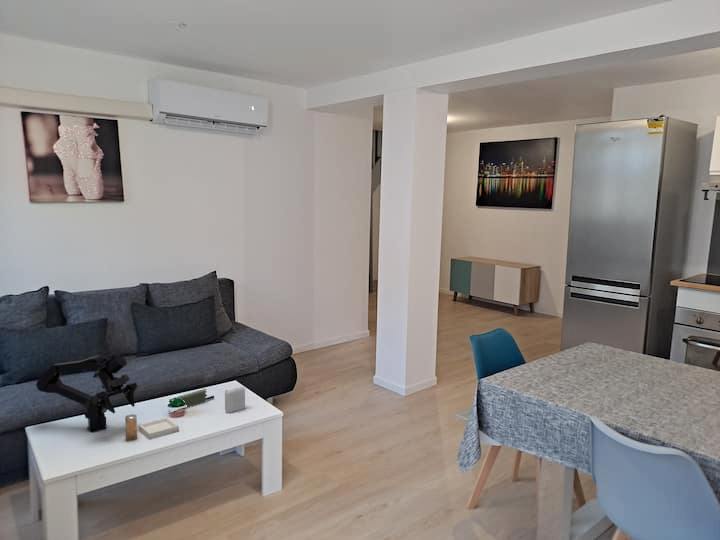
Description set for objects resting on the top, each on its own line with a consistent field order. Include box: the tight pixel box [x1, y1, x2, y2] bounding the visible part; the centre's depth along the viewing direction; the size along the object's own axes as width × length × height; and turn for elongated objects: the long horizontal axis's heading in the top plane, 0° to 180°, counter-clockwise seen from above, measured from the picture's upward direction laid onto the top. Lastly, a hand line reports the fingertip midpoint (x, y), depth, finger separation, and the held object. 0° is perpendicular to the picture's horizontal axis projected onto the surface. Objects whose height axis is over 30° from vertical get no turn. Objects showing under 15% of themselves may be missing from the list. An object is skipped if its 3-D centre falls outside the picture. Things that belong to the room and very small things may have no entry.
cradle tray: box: [137, 417, 180, 440], centre depth 236 cm, size 13×13×2 cm
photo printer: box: [224, 384, 246, 414], centre depth 260 cm, size 10×4×12 cm, turn 134°
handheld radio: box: [169, 388, 215, 408], centre depth 267 cm, size 7×3×25 cm
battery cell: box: [124, 414, 138, 442], centre depth 226 cm, size 4×4×10 cm
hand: (124, 409), depth 228 cm, fingers open, 9 cm apart
